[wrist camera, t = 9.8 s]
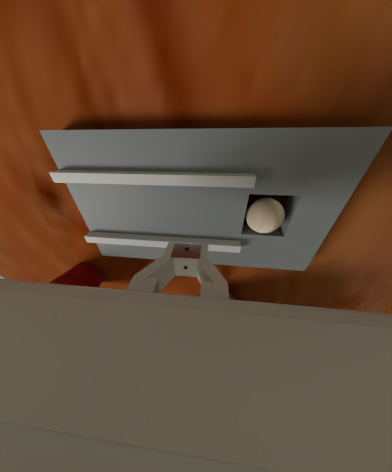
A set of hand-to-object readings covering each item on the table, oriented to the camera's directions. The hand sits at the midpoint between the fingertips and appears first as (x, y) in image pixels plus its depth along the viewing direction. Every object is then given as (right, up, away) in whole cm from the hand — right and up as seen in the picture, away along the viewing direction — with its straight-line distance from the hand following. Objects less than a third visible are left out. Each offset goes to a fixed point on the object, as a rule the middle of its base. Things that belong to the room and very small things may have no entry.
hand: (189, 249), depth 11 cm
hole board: (+1, +5, +8) cm, 9 cm away
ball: (+8, +3, +6) cm, 11 cm away
